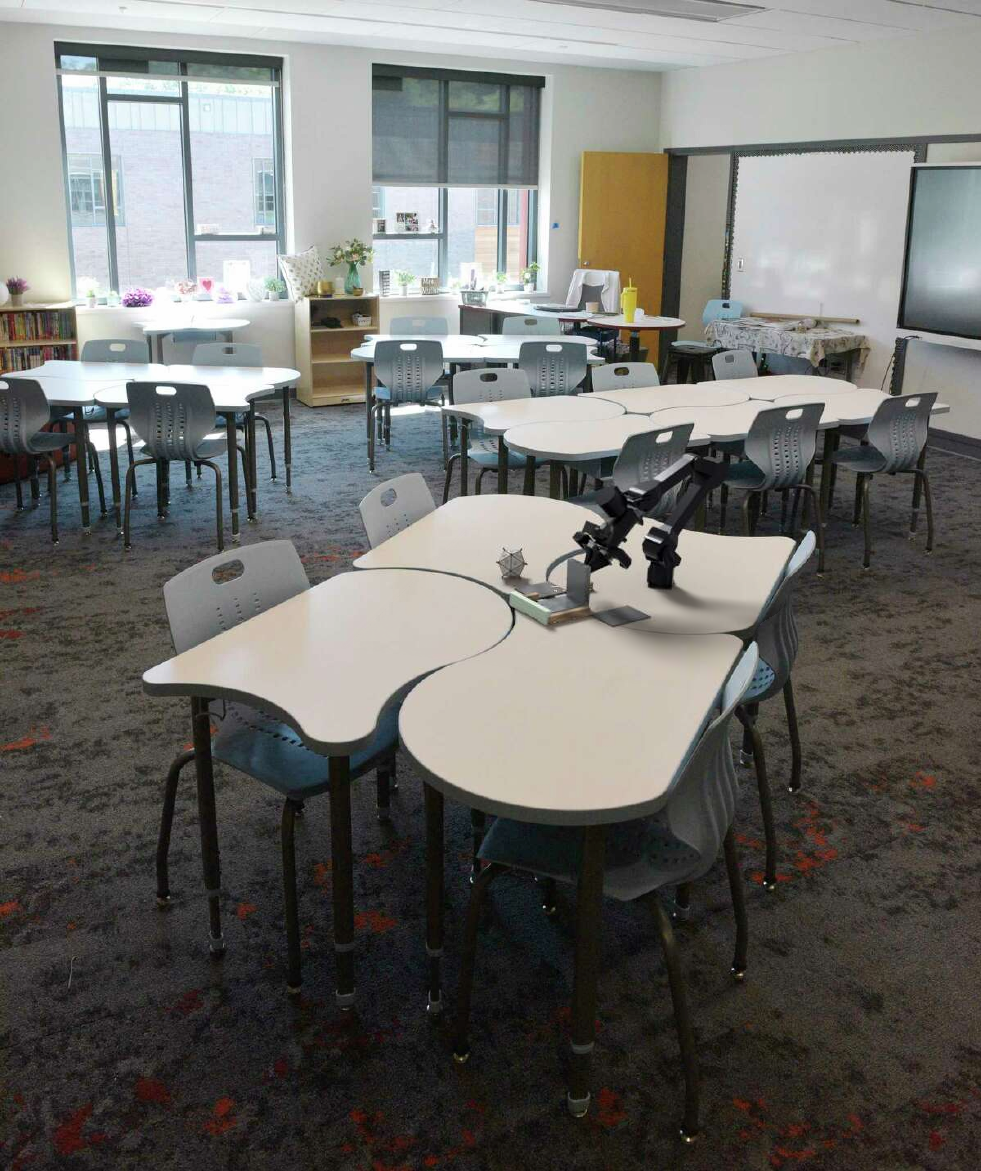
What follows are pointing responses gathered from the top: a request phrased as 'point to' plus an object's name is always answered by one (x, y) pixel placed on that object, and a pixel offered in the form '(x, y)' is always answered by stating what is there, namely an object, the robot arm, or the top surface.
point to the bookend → (572, 589)
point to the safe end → (529, 607)
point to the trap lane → (608, 616)
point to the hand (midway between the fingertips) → (581, 575)
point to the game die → (511, 563)
